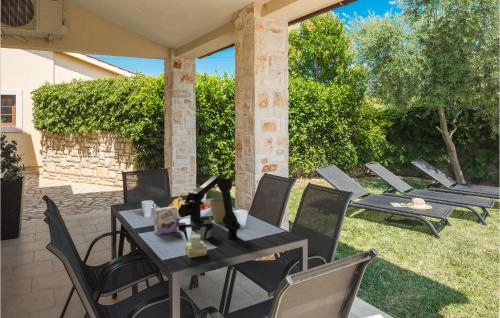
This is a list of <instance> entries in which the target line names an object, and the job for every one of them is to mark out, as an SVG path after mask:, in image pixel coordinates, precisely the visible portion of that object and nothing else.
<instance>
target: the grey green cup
mask: <svg viewBox="0 0 500 318" xmlns="http://www.w3.org/2000/svg"><path fill="white" fill-rule="evenodd" d="M201 221H204V223H205V222H207V221H211V222H212V217H210V216H208V215H207V216H204V215H203V216H202V215H201ZM211 232H212V229H210V230H209V231H208V232H207V234H206V237H205V239H209V238H211V235H212V233H211ZM198 234H200V240H201V239H203V240H204V227H202V228H201V229H200V230H196V235H198Z"/></svg>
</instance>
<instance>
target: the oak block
mask: <svg viewBox="0 0 500 318" xmlns="http://www.w3.org/2000/svg"><path fill="white" fill-rule="evenodd" d="M184 253H186V255H187V257H188V258H195V257H202V256H207V255H208V246H207V245H206V244H205V242H204V240H200V246H192V247H191V241H190V242H185V243H184Z"/></svg>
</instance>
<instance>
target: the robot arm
mask: <svg viewBox="0 0 500 318" xmlns="http://www.w3.org/2000/svg"><path fill="white" fill-rule="evenodd" d="M232 185H233V183H232V180H231V179H230V178H228V177H227V178H226V177H222V176H219V175H212V176H211V177H210V178H209V179H208V180H207V181H205V182H204V183H203V184H202V185H200V186H199V187H197V188H193V189H192V190H190V191H189V192H188V193H187V196H186V199H185V201H184V203H183V204H182V203H181V204H180V207H179V208H177V209H178V210H177V215H178V216H179V217H180V218H186V217H189V224H186V222H179V223H177V231H178V232H179V231H180V233H183V235H184V237H185V240H186V242H188V241H189V240H188V239H189V237H188V231H187V229H190V228H191V231H197V230H200V229H201V228H202V227H204V239H203V241H206V240H205V237H206V234H207V232H208V231H209V230H210V229H211V230H212V229H214V226H213V225H214V224H213V222H212V220H211V221H207V222H205V223H204V221H201V217H202V215H201V214H202V213H201V205H204V202H202V200H203V199H204V198H205V196H206V194H207V193H208V192H209V191H210V190H211V189H213V188H214V187H215V186H218V190H219V191H220V192H221V194H222V195H221V196H222V198H223V202H224V209H225V216H224V217H223V218H222V219H223V223H222V224H223V225H224V228H226V229H227V235H226V236H227V239H228V240H234V239H235V240H236V239H239V236H238V230H240V228H241V224H240V222H239V221H238V219H237V215H235V213H234V209H233V201H232V196H231V191H232V188H233V186H232Z"/></svg>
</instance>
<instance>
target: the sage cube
mask: <svg viewBox="0 0 500 318" xmlns="http://www.w3.org/2000/svg"><path fill="white" fill-rule="evenodd" d="M190 239H191V240H190V242H191V247H192V246H200V241H201V239H200V234H198V235H197V234H190Z"/></svg>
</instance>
